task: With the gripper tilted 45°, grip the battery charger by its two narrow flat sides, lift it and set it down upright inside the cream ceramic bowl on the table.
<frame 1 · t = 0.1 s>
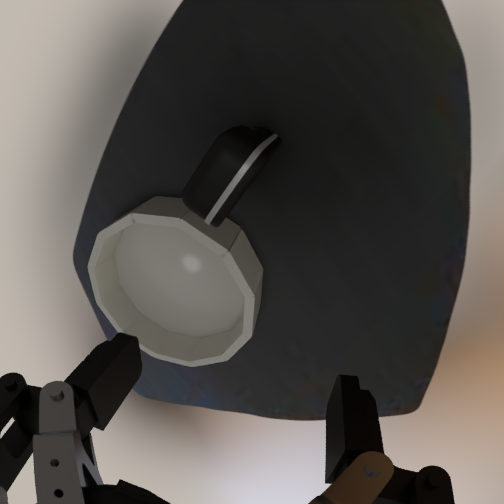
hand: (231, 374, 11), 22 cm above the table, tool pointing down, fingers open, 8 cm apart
battery charger: (248, 154, 30), on the table
bowl: (181, 275, 38), on the table
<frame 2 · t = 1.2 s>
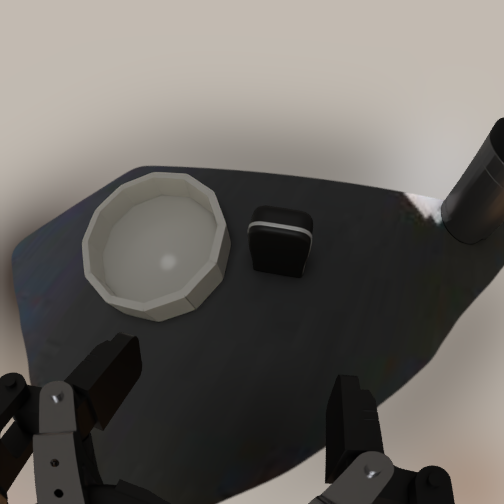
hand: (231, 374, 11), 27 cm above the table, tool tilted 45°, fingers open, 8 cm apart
battery charger: (279, 262, 42), on the table
bowl: (160, 251, 44), on the table
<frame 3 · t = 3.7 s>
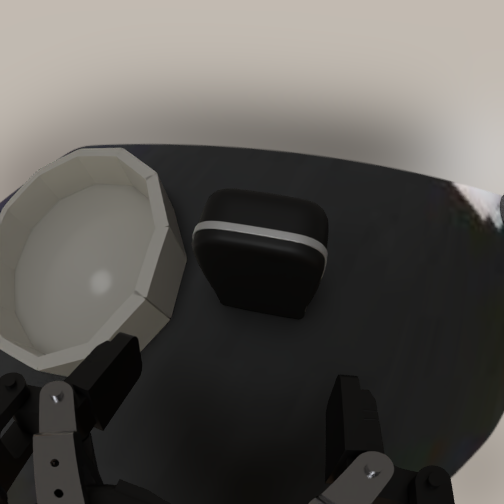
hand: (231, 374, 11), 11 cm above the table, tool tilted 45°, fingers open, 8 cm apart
battery charger: (265, 291, 25), on the table
bowl: (84, 268, 26), on the table
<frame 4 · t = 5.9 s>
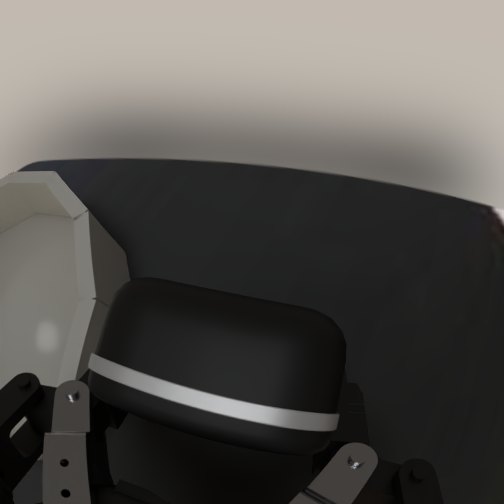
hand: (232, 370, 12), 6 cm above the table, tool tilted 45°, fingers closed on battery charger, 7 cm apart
battery charger: (245, 377, 17), on the table, touching gripper
bowl: (24, 324, 18), on the table
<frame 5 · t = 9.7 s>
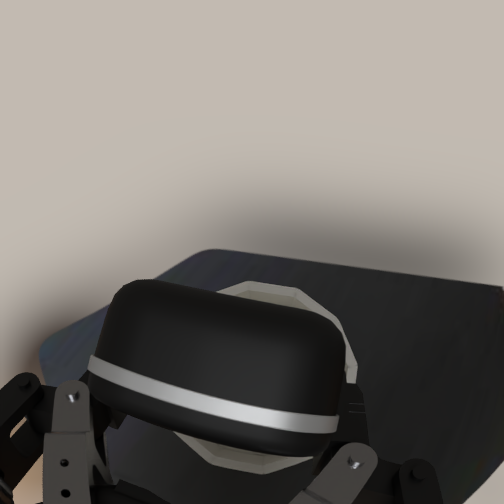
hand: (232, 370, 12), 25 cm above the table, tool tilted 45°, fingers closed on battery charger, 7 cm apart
battery charger: (245, 378, 17), point 19 cm above the table, touching gripper
bowl: (258, 379, 34), on the table
when the fingers open (7 cm above the table, at t = 13.6 s): battery charger stays where it is, resting on bowl.
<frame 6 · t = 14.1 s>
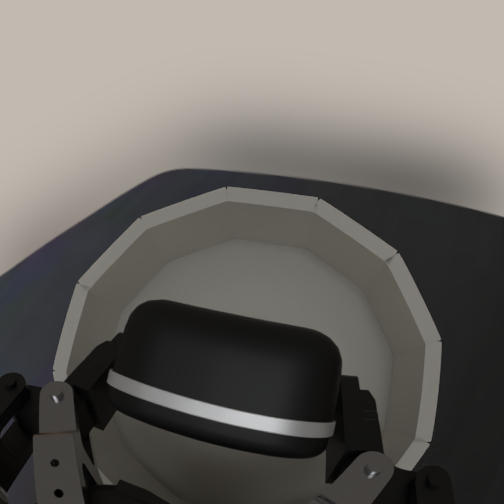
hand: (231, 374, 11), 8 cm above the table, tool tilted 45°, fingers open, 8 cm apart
battery charger: (247, 382, 17), point 1 cm above the table, touching bowl
bowl: (246, 378, 18), on the table
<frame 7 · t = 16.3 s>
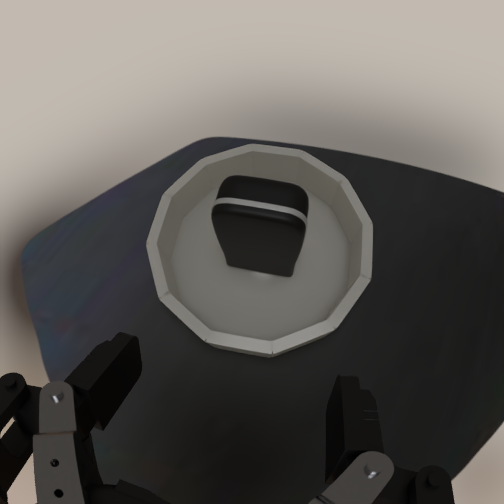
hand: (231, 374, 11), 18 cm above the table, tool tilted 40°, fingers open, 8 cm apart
battery charger: (262, 255, 31), point 1 cm above the table, touching bowl
bowl: (261, 256, 32), on the table
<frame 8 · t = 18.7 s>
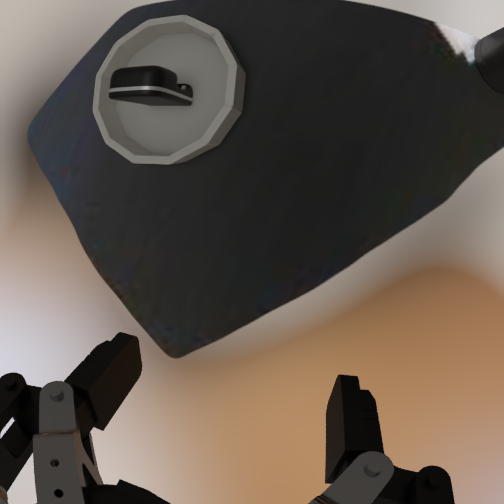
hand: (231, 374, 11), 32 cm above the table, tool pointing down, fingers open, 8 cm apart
battery charger: (172, 93, 38), point 1 cm above the table, touching bowl
bowl: (173, 92, 38), on the table
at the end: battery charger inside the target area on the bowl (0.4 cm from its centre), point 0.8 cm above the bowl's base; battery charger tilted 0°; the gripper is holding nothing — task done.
